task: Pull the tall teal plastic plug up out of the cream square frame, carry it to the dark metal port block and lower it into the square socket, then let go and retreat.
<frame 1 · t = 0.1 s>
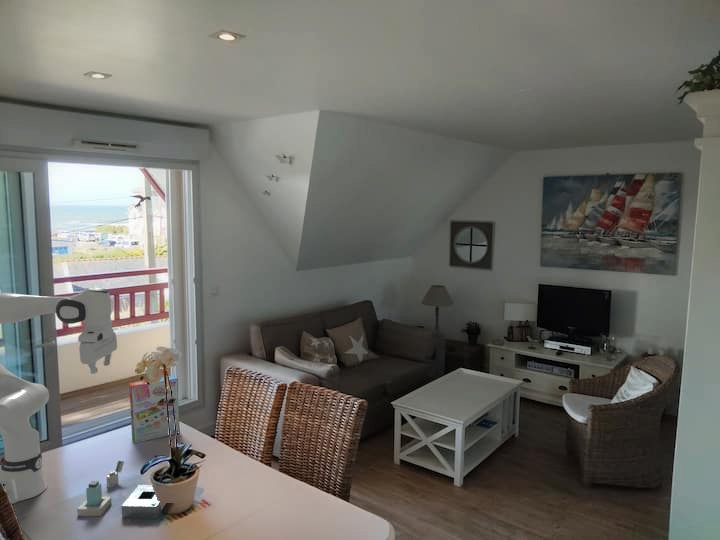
hand: (100, 369, 192), 48 cm above the table, fingers open, 8 cm apart
cream square frame: (94, 509, 187), on the table
plug: (94, 496, 186), in the cream square frame
game box: (156, 436, 246), on the table
lighter: (115, 483, 205), on the table
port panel: (147, 507, 188), on the table
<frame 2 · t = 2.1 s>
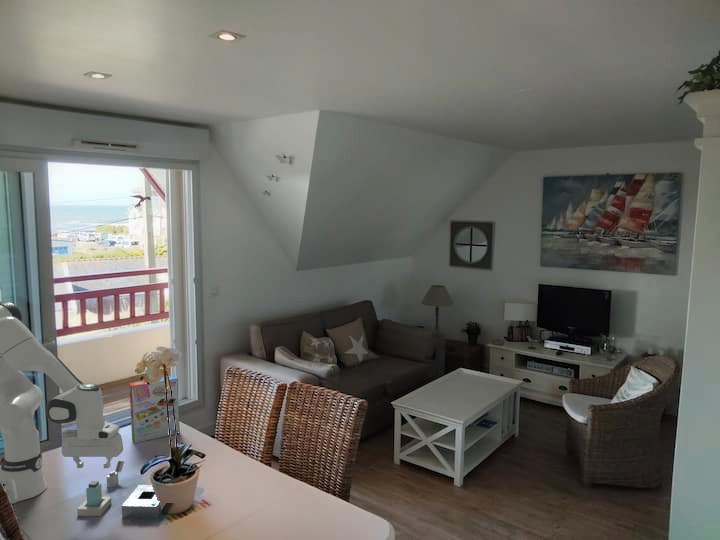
hand: (93, 467, 185), 16 cm above the table, fingers open, 8 cm apart
nothing on the table moved.
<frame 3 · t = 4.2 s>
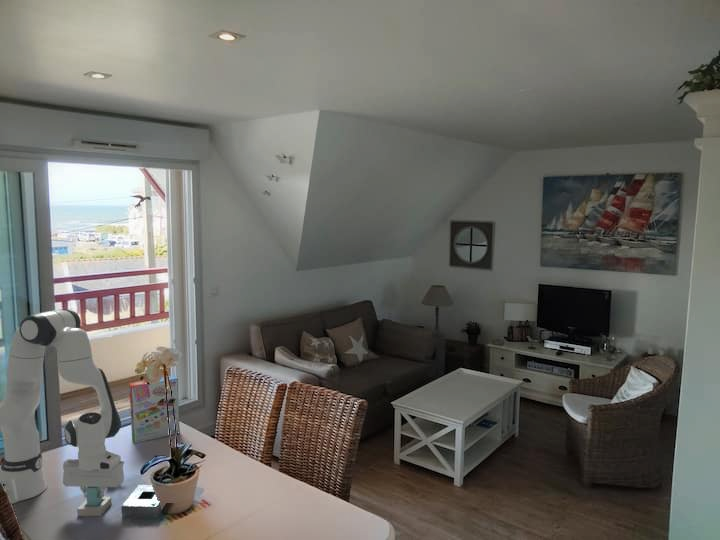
hand: (94, 497, 186), 5 cm above the table, fingers closed on plug, 3 cm apart
plug: (94, 496, 186), in the cream square frame, touching gripper
everything else where it was.
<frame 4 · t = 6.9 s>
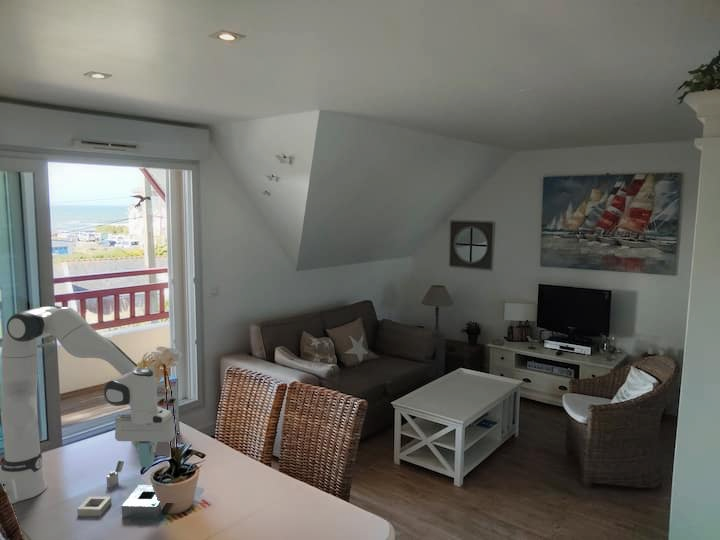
hand: (146, 452, 186), 21 cm above the table, fingers closed on plug, 4 cm apart
plug: (146, 451, 186), point 21 cm above the table, touching gripper
everything else where it was.
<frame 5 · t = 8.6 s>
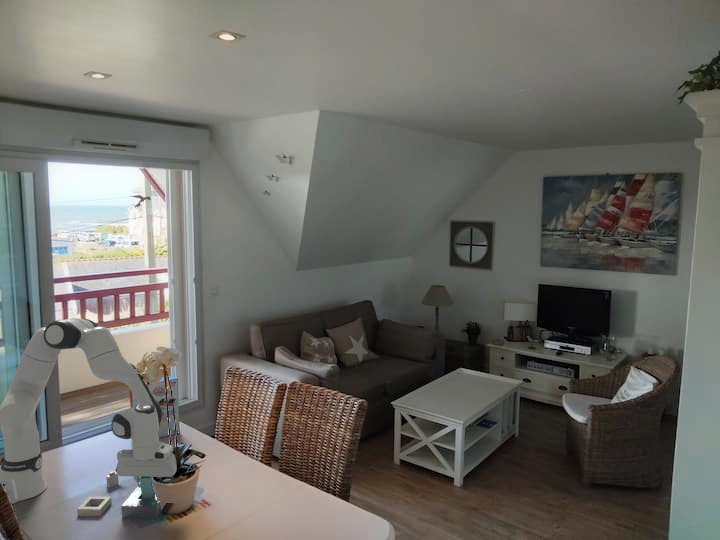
hand: (147, 486, 188), 8 cm above the table, fingers closed on plug, 4 cm apart
plug: (147, 485, 188), point 8 cm above the table, touching gripper
everything else where it was.
when the fingers open (6 cm above the table, at t = 9.7 s): plug stays where it is, resting on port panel.
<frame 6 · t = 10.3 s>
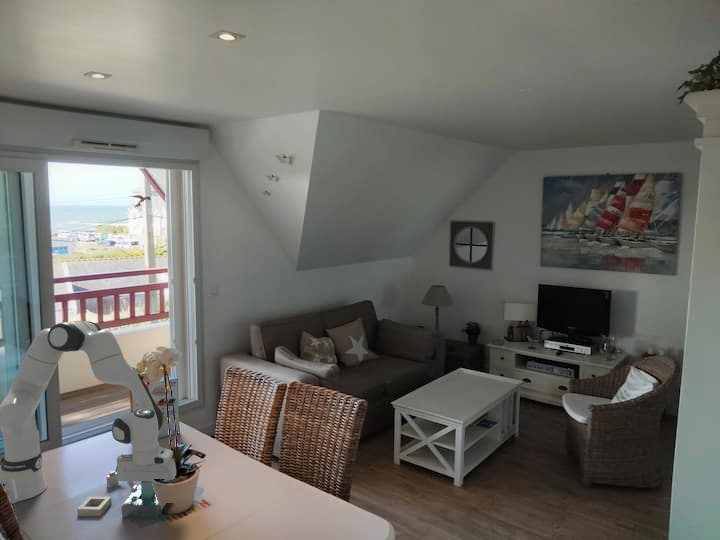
hand: (147, 491, 188), 6 cm above the table, fingers open, 8 cm apart
plug: (148, 490, 188), in the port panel, point 6 cm above the table
everything else where it was.
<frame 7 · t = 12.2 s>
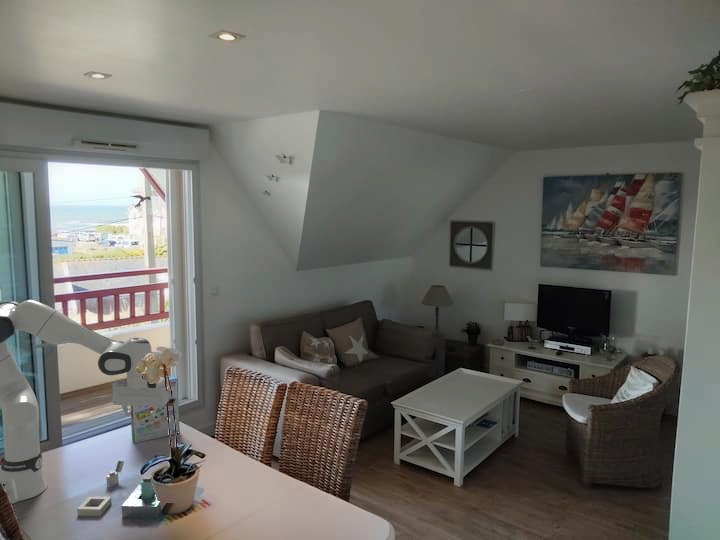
hand: (140, 416, 199), 28 cm above the table, fingers open, 8 cm apart
nothing on the table moved.
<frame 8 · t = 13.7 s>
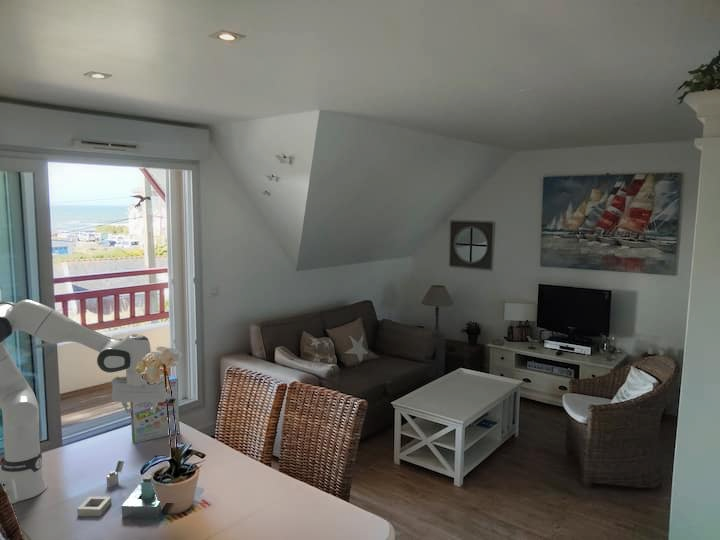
hand: (140, 412, 200), 29 cm above the table, fingers open, 8 cm apart
nothing on the table moved.
at the end: plug 0.5 cm off-centre on the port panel, point 6.0 cm above the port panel's base; plug tilted 0°; the gripper is holding nothing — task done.
